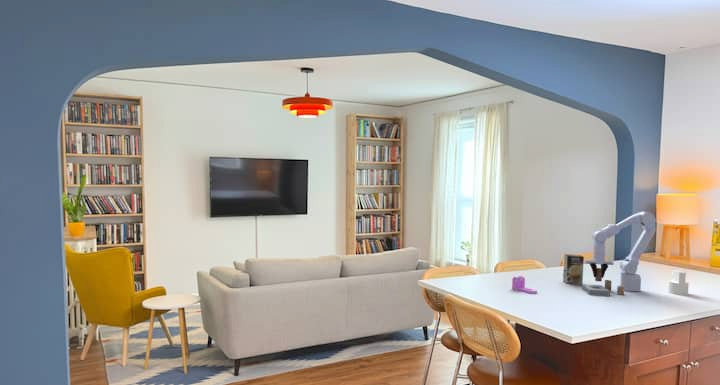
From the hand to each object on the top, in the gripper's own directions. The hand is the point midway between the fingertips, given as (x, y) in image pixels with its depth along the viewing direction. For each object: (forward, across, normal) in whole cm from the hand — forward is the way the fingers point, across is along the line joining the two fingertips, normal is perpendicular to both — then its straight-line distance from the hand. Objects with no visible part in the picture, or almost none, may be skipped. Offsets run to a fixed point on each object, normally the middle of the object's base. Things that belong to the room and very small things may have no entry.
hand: (598, 277), depth 271 cm
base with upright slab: (+6, -40, +2) cm, 40 cm away
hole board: (+6, +5, +13) cm, 15 cm away
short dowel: (+6, -7, +14) cm, 17 cm away
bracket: (+6, +42, +21) cm, 47 cm away
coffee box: (+6, +11, -9) cm, 16 cm away
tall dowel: (+2, 0, 0) cm, 2 cm away
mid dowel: (+6, -3, +7) cm, 10 cm away
